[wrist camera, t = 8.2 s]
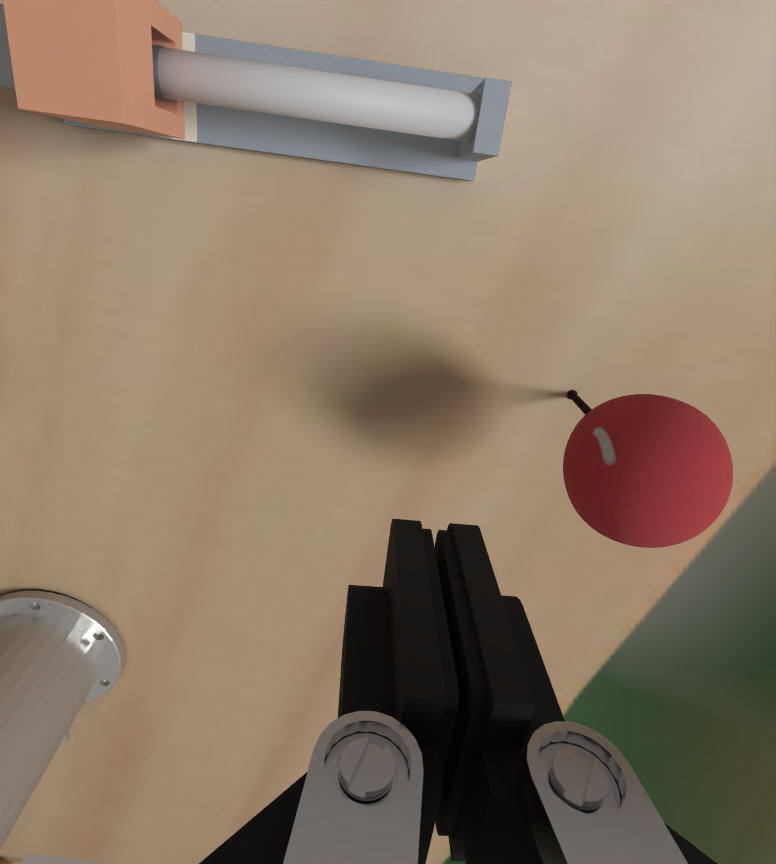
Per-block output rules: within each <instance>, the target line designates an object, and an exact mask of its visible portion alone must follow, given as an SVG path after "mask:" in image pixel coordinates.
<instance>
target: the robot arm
mask: <svg viewBox="0 0 776 864" xmlns="http://www.w3.org/2000/svg"><path fill="white" fill-rule="evenodd" d="M124 662H125V653H124V647H123V644H122V642H121V639H120V637H119V635H118V634H117V632H116V631H115V629H114V628H113V626H112V625H111V624H110V623H109V622H108V621H107V620H106V619H105V618H104V617H103V616H101V615H100V614H99V613H98V612H96V611H95V610H94V609H92V608H90V607H89V606H87V605H85V604H83V603H82V602H79V601H77V600H74V599H72V598H69V597H67V596H63V595H59V594H55V593H51V592H43V591H19V592H14V593H9V594H5V595H3V596H0V849H1V847H2V845H3V844H4V842H5V840H6V838H7V837H8V835H9V833H10V831H11V830H12V828H13V826H14V824H15V823H16V821H17V819H18V817H19V816H20V814H21V812H22V810H23V809H24V807H25V805H26V803H27V802H28V800H29V798H30V796H31V795H32V793H33V791H34V789H35V788H36V786H37V784H38V782H39V781H40V779H41V777H42V775H43V774H44V772H45V770H46V768H47V766H48V765H49V763H50V761H51V759H52V758H53V756H54V754H55V752H56V751H57V749H58V747H59V746H61V745H63V744H65V743H66V742H67V741H68V740H69V737H70V733H69V728H70V726H71V724H72V723H73V721H74V719H75V717H76V716H77V714H78V712H79V710H80V709H81V707H82V705H83V704H85V703H88V702H91V701H94V700H96V699H98V698H100V697H102V696H103V695H105V694H106V693H107V692H108V691H109V690H111V689H112V688H113V686H114V685H115V683H116V682H117V680H118V678H119V676H120V674H121V672H122V670H123V668H124ZM435 821H436V829H437V833H438V835H439V836H449V844H450V853H451V860H452V861H466V864H717V863H716V862H714V861H713V860H712V859H710V858H709V857H708V856H706V855H705V854H704V853H703V852H701V851H700V850H699V849H697V848H696V847H695V846H693V845H692V844H691V843H690V842H688V841H687V840H685V839H684V838H683V837H682V836H680V835H679V834H678V833H676V832H675V831H674V830H673V829H671V828H670V827H669V826H667V825H666V824H665V823H664V822H663V820H662V819H661V817H660V815H659V814H658V812H657V810H656V809H655V807H654V805H653V804H652V802H651V800H650V799H649V797H648V795H647V793H646V792H645V790H644V788H643V787H642V785H641V783H640V782H639V780H638V778H637V777H636V775H635V773H634V772H633V770H632V768H631V767H630V765H629V764H628V762H627V761H626V759H625V758H624V757H623V755H622V754H621V753H620V751H619V750H618V749H617V748H616V747H615V746H614V745H612V744H611V743H610V742H609V741H608V740H607V739H606V738H604V737H603V736H602V735H600V734H598V733H597V732H595V731H593V730H591V729H589V728H588V727H585V726H582V725H579V724H576V723H573V722H565V720H564V718H563V715H562V712H561V709H560V707H559V704H558V701H557V698H556V696H555V693H554V690H553V687H552V685H551V682H550V679H549V676H548V674H547V671H546V668H545V665H544V663H543V660H542V657H541V655H540V652H539V649H538V646H537V644H536V641H535V638H534V635H533V633H532V630H531V627H530V624H529V622H528V619H527V616H526V613H525V611H524V608H523V605H522V603H521V601H520V599H518V598H517V597H514V596H501V594H500V591H499V587H498V584H497V581H496V578H495V575H494V572H493V569H492V565H491V562H490V559H489V556H488V553H487V550H486V547H485V544H484V540H483V537H482V534H481V531H480V528H479V526H477V525H464V524H452V523H450V524H449V526H448V528H447V531H446V530H439V531H438V533H437V537H436V542H435V548H434V542H433V537H432V531H431V529H422V525H421V522H420V521H414V520H401V519H392V523H391V529H390V536H389V544H388V551H387V559H386V566H385V574H384V581H383V587H371V586H357V585H349V587H348V595H347V605H346V615H345V625H344V637H343V649H342V662H341V677H340V692H339V707H338V719H336V720H334V721H333V722H331V723H330V724H329V725H328V726H327V728H326V729H325V730H324V731H323V732H322V733H321V734H320V736H319V738H318V741H317V743H316V745H315V747H314V750H313V753H312V757H311V761H310V765H309V768H308V772H307V773H305V774H304V775H303V776H302V777H301V778H300V779H298V780H297V781H296V782H295V783H294V784H293V785H291V786H290V787H289V788H288V789H287V790H285V791H284V792H283V793H282V794H281V795H280V796H278V797H277V798H276V799H275V800H274V801H272V802H271V803H270V804H269V805H268V806H267V807H265V808H264V809H263V810H262V811H261V812H259V813H258V814H257V815H256V816H255V817H254V818H252V819H251V820H250V821H249V822H248V823H247V824H245V825H244V826H243V827H242V828H241V829H239V830H238V831H237V832H236V833H235V834H234V835H232V836H231V837H230V838H229V839H228V840H226V841H225V842H224V843H223V844H222V845H221V846H219V847H218V848H217V849H216V850H215V851H213V852H212V853H211V854H210V855H209V856H208V857H206V858H205V859H204V860H203V861H202V862H201V863H199V864H425V863H426V858H427V854H428V850H429V846H430V842H431V837H432V833H433V829H434V825H435Z"/></svg>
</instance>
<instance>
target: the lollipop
mask: <svg viewBox="0 0 776 864" xmlns="http://www.w3.org/2000/svg"><path fill="white" fill-rule="evenodd" d="M568 398H569V399H572V400H573V401H574V403H575V404H576V405H577V406H578V407H579V408H580V409H581V410H582V412H583V413H584V414H585V416H584V417H583V418H582V419H581V420H580V421H579V423H578V424H577V425H576V427H575V428H574V430H573V432H572V433H571V435H570V438H569V440H568V443H567V445H566V449H565V454H564V461H563V475H564V482H565V486H566V490H567V493H568V496H569V499H570V501H571V503H572V505H573V506H574V508H575V510H576V511H577V513H578V514H579V515H580V517H581V518H582V519H583V520H584V521H585V522H586V523H587V524H588V525H589V526H590V527H592V528H593V529H594V530H596V531H597V532H599V533H600V534H602V535H604V536H606V537H608V538H610V539H612V540H614V541H617V542H620V543H623V544H627V545H631V546H637V547H646V548H657V547H667V546H671V545H675V544H679V543H682V542H684V541H687V540H689V539H691V538H693V537H695V536H697V535H698V534H700V533H701V532H703V531H704V530H706V529H707V528H708V527H709V526H710V525H711V524H712V523H713V522H714V521H715V520H716V519H717V517H718V516H719V515H720V513H721V512H722V510H723V509H724V507H725V505H726V503H727V501H728V498H729V495H730V492H731V488H732V482H733V466H732V459H731V454H730V451H729V448H728V445H727V443H726V441H725V439H724V437H723V435H722V433H721V432H720V430H719V429H718V428H717V426H716V425H715V424H714V423H713V422H712V421H711V420H710V419H709V418H708V417H707V416H706V415H705V414H704V413H702V412H701V411H699V410H698V409H696V408H695V407H693V406H691V405H689V404H687V403H684V402H682V401H679V400H676V399H673V398H669V397H665V396H659V395H651V394H636V395H628V396H622V397H618V398H615V399H612V400H609V401H607V402H605V403H602V404H601V405H599V406H597V407H595V408H594V409H591V408H590V407H589V406H588V405H587V404H586V403H585V402H584V401H583V400H582V399H581V398H580V397H579V396H578V395H577V392H576V391H575V390H572V391H569V392H568Z"/></svg>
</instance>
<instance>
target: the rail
mask: <svg viewBox="0 0 776 864" xmlns="http://www.w3.org/2000/svg"><path fill="white" fill-rule="evenodd" d="M152 56H153V76H154V96H155V98H156V99H163V100H169V99H171V100H178V101H184V123H185V139H179V138H172V137H165V136H158V135H151V134H143V133H136V132H129V131H122V130H114V129H107V128H103V127H98V126H94V125H89V124H85V123H80V122H76V121H71V120H67V119H63V122H64V124H67V125H71V126H78V127H85V128H92V129H99V130H107V131H114V132H121V133H128V134H135V135H143V136H150V137H157V138H164V139H172V140H179V141H186V142H193V143H201V144H208V145H215V146H222V147H229V148H237V149H244V150H251V151H258V152H266V153H273V154H280V155H287V156H295V157H302V158H309V159H316V160H323V161H331V162H338V163H345V164H352V165H360V166H367V167H374V168H381V169H389V170H396V171H403V172H410V173H417V174H425V175H432V176H439V177H446V178H454V179H461V180H468V181H474V178H475V172H476V166H477V161H481V160H485V159H488V158H492V157H496V156H498V153H499V148H500V143H501V137H502V132H503V126H504V121H505V116H506V110H507V105H508V99H509V94H510V89H511V83H512V81H505V80H498V79H492V78H480V77H474V76H467V75H460V74H454V73H447V72H441V71H434V70H428V69H421V68H414V67H408V66H401V65H395V64H388V63H381V62H375V61H368V60H362V59H355V58H349V57H342V56H335V55H329V54H322V53H316V52H309V51H303V50H296V49H289V48H283V47H276V46H270V45H263V44H256V43H250V42H243V41H237V40H230V39H224V38H217V37H210V36H204V35H197V34H193V33H187V32H182V50H178V49H172V48H166V47H164V46H161V45H154V44H152ZM0 86H2V87H5V88H9V89H12V90H15V83H14V76H13V69H12V62H11V55H10V48H9V41H8V33H7V26H6V19H5V12H4V5H3V4H0Z"/></svg>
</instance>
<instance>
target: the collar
mask: <svg viewBox="0 0 776 864" xmlns="http://www.w3.org/2000/svg"><path fill="white" fill-rule="evenodd" d="M3 5H4V12H5V19H6V26H7V33H8V41H9V48H10V55H11V62H12V69H13V76H14V83H15V90H16V97H17V104H18V109H23V110H27V111H31V112H36V113H40V114H45V115H49V116H54V117H58V118H63V119H67V120H71V121H76V122H80V123H85V124H89V125H94V126H98V127H103V128H107V129H114V130H122V131H129V132H136V133H143V134H151V135H158V136H165V137H172V138H179V139H185V123H184V101H178V100H171V99H169V100H163V99H156V98H155V96H154V76H153V56H152V44H154V45H161V46H164V47H166V48H172V49H178V50H182V24H181V22H180V21H178V20H177V19H176V18H175V17H174V16H172V15H171V14H170V13H169V12H168V11H167V10H165V9H164V8H163V7H162V6H161V5H160V4H158V3H157V2H156V1H155V0H3Z"/></svg>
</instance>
